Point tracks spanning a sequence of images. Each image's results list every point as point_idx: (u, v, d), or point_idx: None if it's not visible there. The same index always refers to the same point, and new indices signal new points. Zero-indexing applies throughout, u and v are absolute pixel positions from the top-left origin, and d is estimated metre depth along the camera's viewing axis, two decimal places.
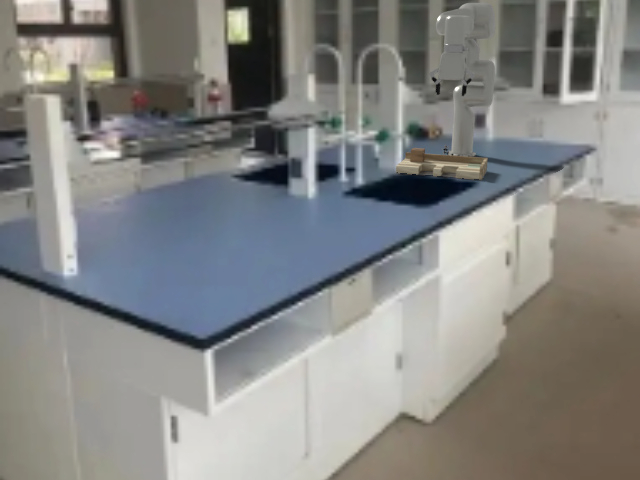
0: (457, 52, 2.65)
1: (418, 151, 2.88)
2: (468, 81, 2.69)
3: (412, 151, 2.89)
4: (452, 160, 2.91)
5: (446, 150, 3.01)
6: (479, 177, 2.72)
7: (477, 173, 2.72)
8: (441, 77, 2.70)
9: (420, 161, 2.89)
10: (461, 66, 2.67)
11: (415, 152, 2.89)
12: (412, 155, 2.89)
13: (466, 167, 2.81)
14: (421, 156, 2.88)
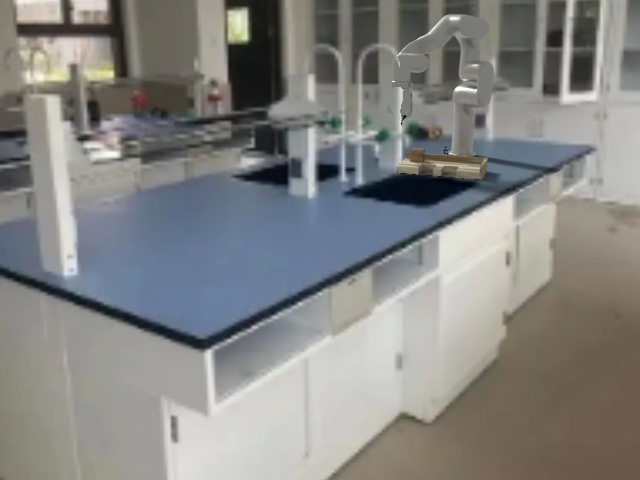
0: (403, 88, 2.82)
1: (418, 151, 2.88)
2: (403, 117, 2.88)
3: (412, 151, 2.89)
4: (452, 160, 2.91)
5: (446, 151, 2.99)
6: (479, 177, 2.72)
7: (477, 173, 2.72)
8: (389, 111, 2.88)
9: (420, 161, 2.89)
10: (407, 101, 2.84)
11: (415, 152, 2.89)
12: (412, 155, 2.89)
13: (466, 167, 2.81)
14: (421, 156, 2.88)
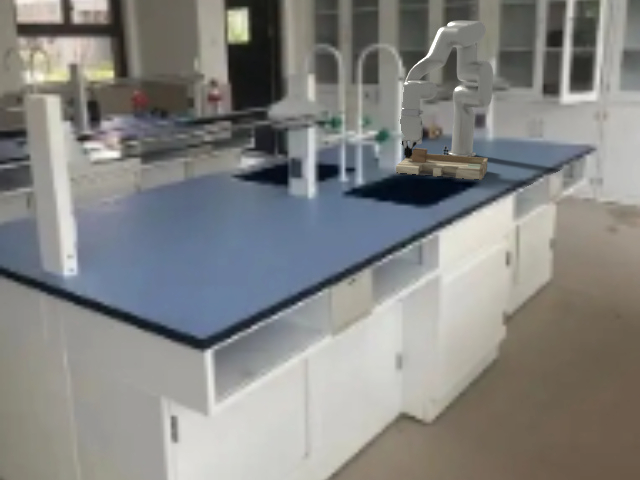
0: (413, 116, 2.84)
1: (420, 151, 2.87)
2: (413, 144, 2.89)
3: (414, 151, 2.88)
4: (452, 160, 2.91)
5: (447, 151, 2.98)
6: (479, 177, 2.72)
7: (477, 173, 2.72)
8: None
9: (422, 161, 2.88)
10: (417, 128, 2.86)
11: (417, 152, 2.88)
12: (414, 155, 2.89)
13: (466, 167, 2.81)
14: (423, 156, 2.88)
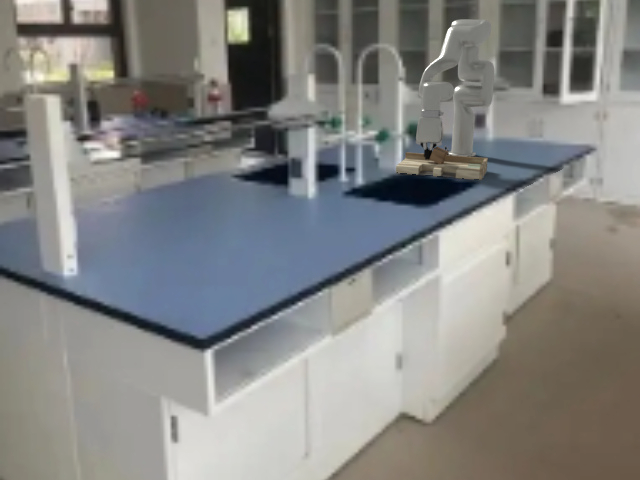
0: (433, 117, 2.81)
1: (440, 152, 2.84)
2: (433, 146, 2.87)
3: (434, 150, 2.85)
4: (452, 160, 2.91)
5: None
6: (479, 177, 2.72)
7: (477, 173, 2.72)
8: (419, 139, 2.87)
9: (438, 162, 2.86)
10: (437, 130, 2.83)
11: (437, 152, 2.85)
12: (433, 154, 2.86)
13: (466, 167, 2.81)
14: (441, 158, 2.85)
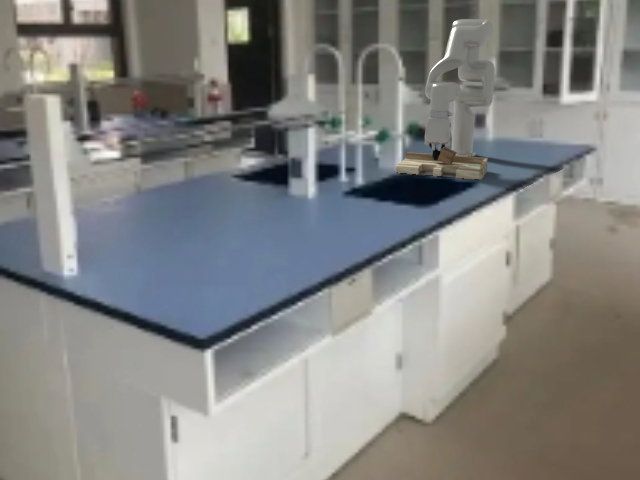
0: (442, 118, 2.80)
1: (448, 153, 2.83)
2: (442, 147, 2.86)
3: (443, 151, 2.84)
4: None
5: None
6: (479, 177, 2.72)
7: (477, 173, 2.72)
8: (427, 140, 2.86)
9: (447, 163, 2.84)
10: (446, 130, 2.82)
11: (445, 153, 2.84)
12: (441, 154, 2.85)
13: (466, 167, 2.81)
14: (449, 159, 2.83)
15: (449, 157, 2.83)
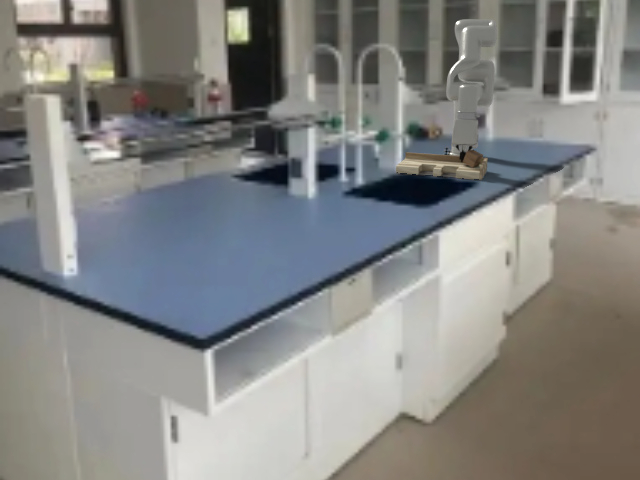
0: (470, 119, 2.77)
1: (473, 155, 2.79)
2: (469, 148, 2.83)
3: (467, 153, 2.80)
4: (452, 160, 2.91)
5: (449, 152, 2.96)
6: (479, 177, 2.72)
7: (477, 173, 2.72)
8: (454, 142, 2.83)
9: (471, 165, 2.80)
10: (474, 132, 2.79)
11: (470, 155, 2.80)
12: (466, 157, 2.81)
13: (466, 167, 2.81)
14: (474, 161, 2.79)
15: (473, 159, 2.79)
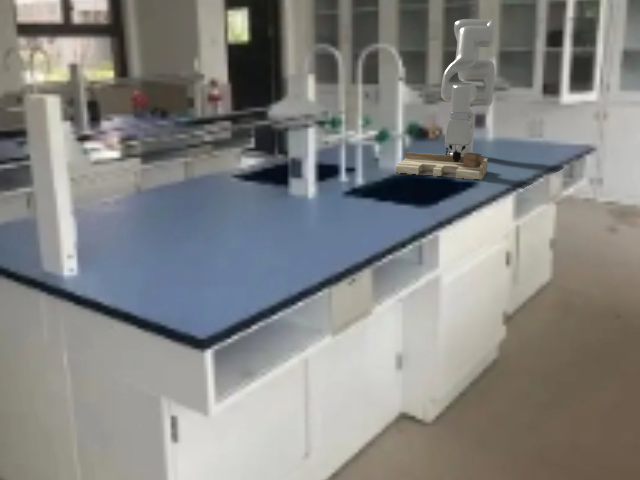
0: (463, 119, 2.78)
1: (471, 156, 2.80)
2: (462, 148, 2.84)
3: (465, 155, 2.81)
4: (452, 160, 2.91)
5: (450, 152, 2.96)
6: (479, 177, 2.72)
7: (477, 173, 2.72)
8: (448, 142, 2.84)
9: (472, 166, 2.80)
10: (467, 132, 2.80)
11: (468, 156, 2.80)
12: (465, 159, 2.82)
13: (466, 167, 2.81)
14: (473, 161, 2.79)
15: (473, 159, 2.79)
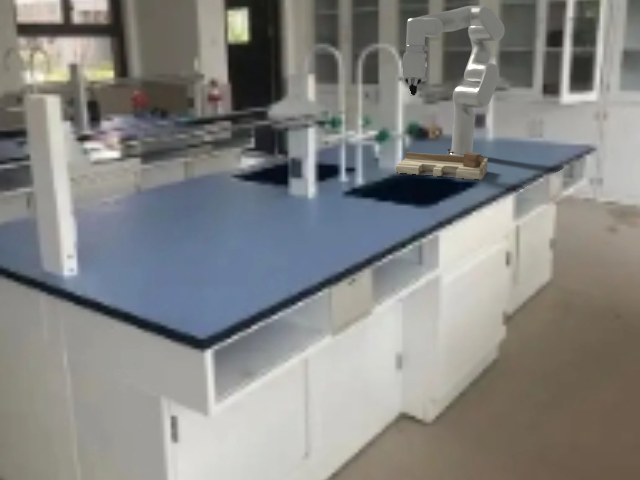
0: (418, 52, 2.84)
1: (471, 156, 2.80)
2: (418, 81, 2.90)
3: (465, 155, 2.81)
4: (452, 160, 2.91)
5: (452, 153, 2.94)
6: (479, 177, 2.72)
7: (477, 173, 2.72)
8: (404, 75, 2.90)
9: (472, 166, 2.80)
10: (422, 65, 2.86)
11: (468, 156, 2.80)
12: (465, 159, 2.82)
13: (466, 167, 2.81)
14: (473, 161, 2.79)
15: (473, 159, 2.79)
